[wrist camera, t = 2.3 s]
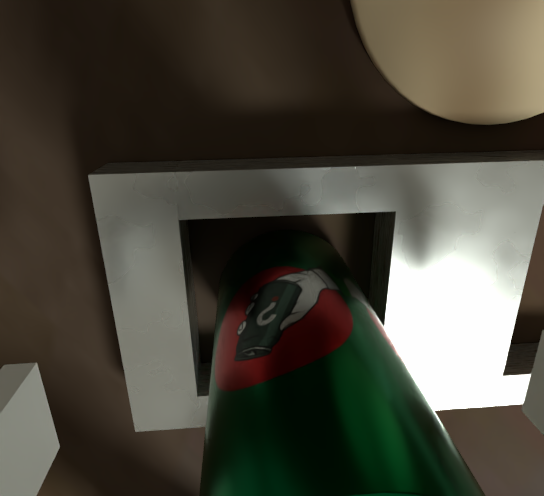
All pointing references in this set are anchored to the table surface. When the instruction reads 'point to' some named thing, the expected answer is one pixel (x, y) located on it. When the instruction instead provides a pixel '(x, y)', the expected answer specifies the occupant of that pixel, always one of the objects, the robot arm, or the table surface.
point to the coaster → (459, 55)
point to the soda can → (315, 386)
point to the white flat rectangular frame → (384, 267)
